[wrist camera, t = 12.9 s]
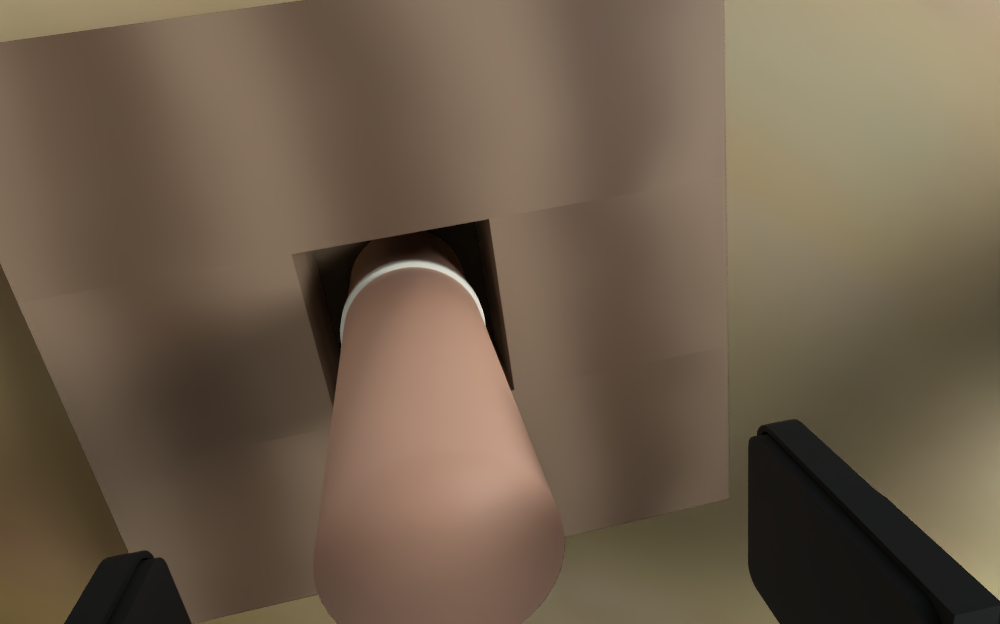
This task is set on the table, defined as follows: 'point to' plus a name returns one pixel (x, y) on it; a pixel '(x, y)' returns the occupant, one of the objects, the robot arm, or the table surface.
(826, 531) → the robot arm
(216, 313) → the board
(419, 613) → the peg
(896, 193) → the table surface
